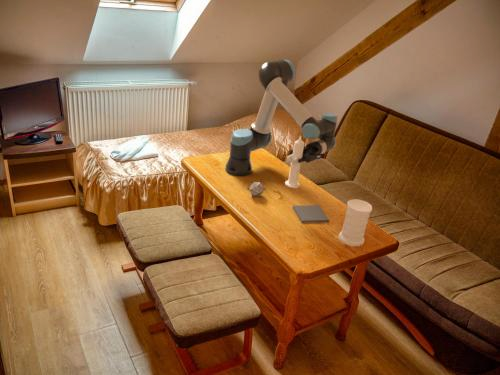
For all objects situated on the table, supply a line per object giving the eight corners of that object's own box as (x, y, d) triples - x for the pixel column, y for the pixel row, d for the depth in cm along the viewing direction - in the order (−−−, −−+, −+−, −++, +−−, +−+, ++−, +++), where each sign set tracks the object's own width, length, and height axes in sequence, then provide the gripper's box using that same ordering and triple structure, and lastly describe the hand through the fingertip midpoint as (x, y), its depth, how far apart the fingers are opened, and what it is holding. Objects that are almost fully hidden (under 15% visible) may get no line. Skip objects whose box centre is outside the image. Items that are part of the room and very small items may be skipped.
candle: (301, 187, 207) (310, 138, 196) (287, 188, 205) (296, 138, 194) (296, 181, 213) (305, 132, 201) (282, 181, 211) (290, 132, 200)
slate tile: (292, 207, 220) (292, 205, 220) (318, 207, 224) (318, 205, 223) (301, 222, 208) (301, 220, 208) (328, 221, 212) (329, 219, 211)
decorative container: (334, 239, 198) (342, 205, 190) (344, 229, 207) (352, 196, 199) (358, 249, 193) (367, 215, 185) (367, 238, 202) (376, 205, 193)
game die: (257, 203, 228) (263, 195, 219) (243, 195, 227) (248, 187, 219) (264, 190, 232) (270, 182, 223) (250, 182, 232) (255, 174, 223)
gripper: (328, 160, 214) (303, 174, 196) (300, 150, 222) (274, 162, 205) (331, 146, 210) (306, 159, 193) (303, 136, 218) (276, 148, 201)
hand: (290, 161), depth 199 cm, fingers closed on candle, 3 cm apart
